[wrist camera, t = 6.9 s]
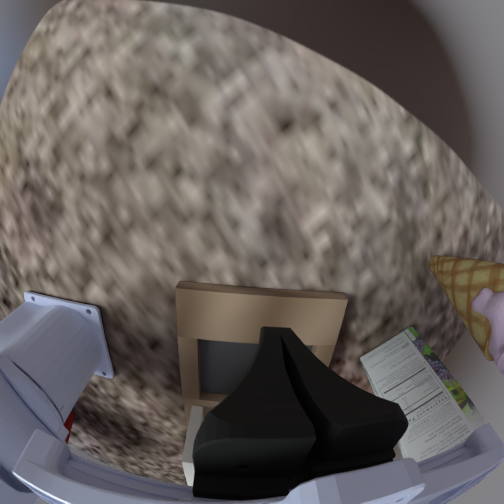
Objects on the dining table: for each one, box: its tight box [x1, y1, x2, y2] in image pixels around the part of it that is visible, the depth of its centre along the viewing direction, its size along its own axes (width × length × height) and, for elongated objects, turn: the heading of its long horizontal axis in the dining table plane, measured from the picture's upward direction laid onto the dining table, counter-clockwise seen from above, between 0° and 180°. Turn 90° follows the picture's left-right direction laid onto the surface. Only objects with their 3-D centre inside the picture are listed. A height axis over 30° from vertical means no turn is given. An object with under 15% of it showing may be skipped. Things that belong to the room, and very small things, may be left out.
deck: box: [175, 281, 348, 430], centre depth 22 cm, size 12×27×1 cm, turn 175°
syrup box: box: [360, 327, 487, 463], centre depth 15 cm, size 6×6×14 cm
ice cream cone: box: [429, 256, 504, 375], centre depth 12 cm, size 7×6×15 cm
